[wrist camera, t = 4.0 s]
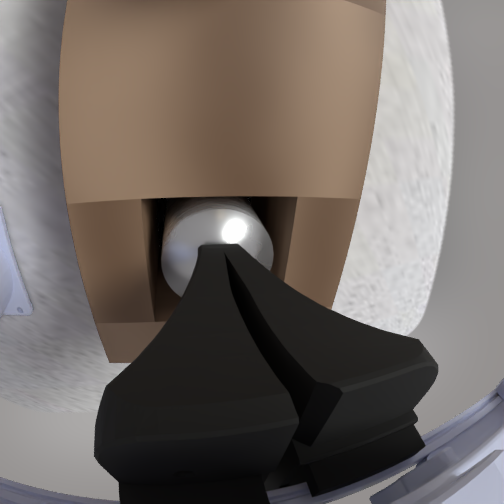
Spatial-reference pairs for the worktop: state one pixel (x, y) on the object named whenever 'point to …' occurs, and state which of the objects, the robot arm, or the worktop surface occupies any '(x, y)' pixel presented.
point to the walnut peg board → (212, 137)
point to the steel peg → (208, 233)
